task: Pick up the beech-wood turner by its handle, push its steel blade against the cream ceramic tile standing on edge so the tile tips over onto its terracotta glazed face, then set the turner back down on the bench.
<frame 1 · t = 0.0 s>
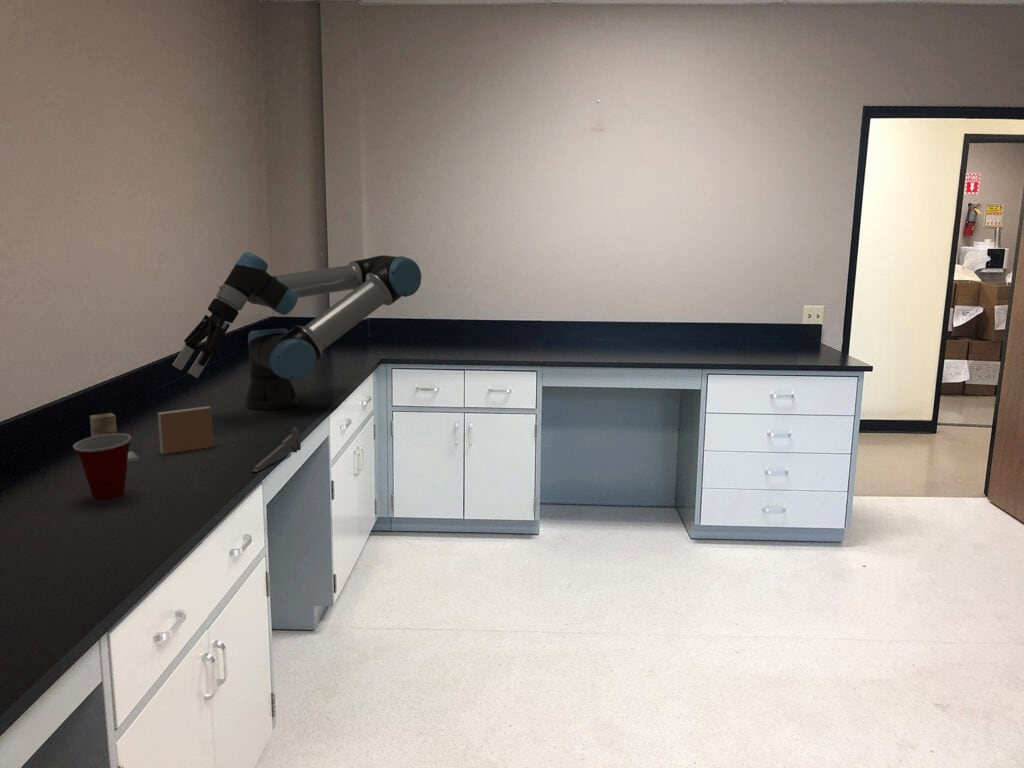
hand: (184, 371, 229), 15 cm above the counter, tool tilted 35°, fingers open, 13 cm apart
tile: (187, 450, 210), on the counter
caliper: (277, 462, 201), on the counter
plastic cup: (107, 497, 176), on the counter
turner: (105, 449, 210), on the counter
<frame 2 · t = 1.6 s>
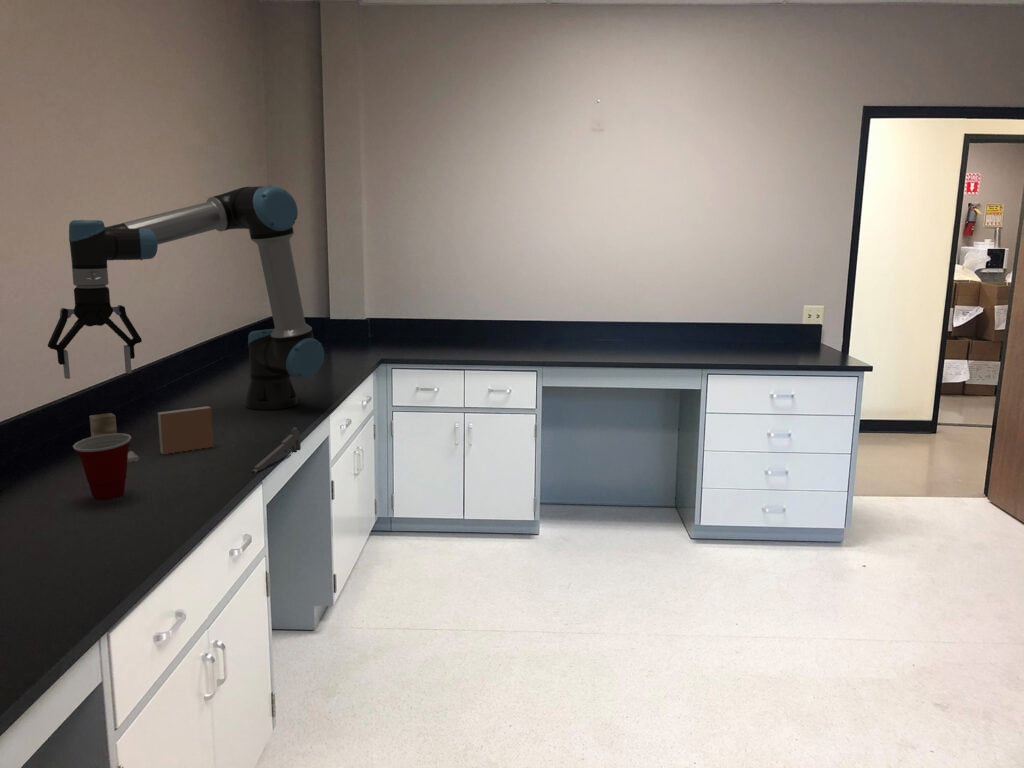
hand: (98, 375, 206), 18 cm above the counter, tool pointing down, fingers open, 13 cm apart
nothing on the counter moved.
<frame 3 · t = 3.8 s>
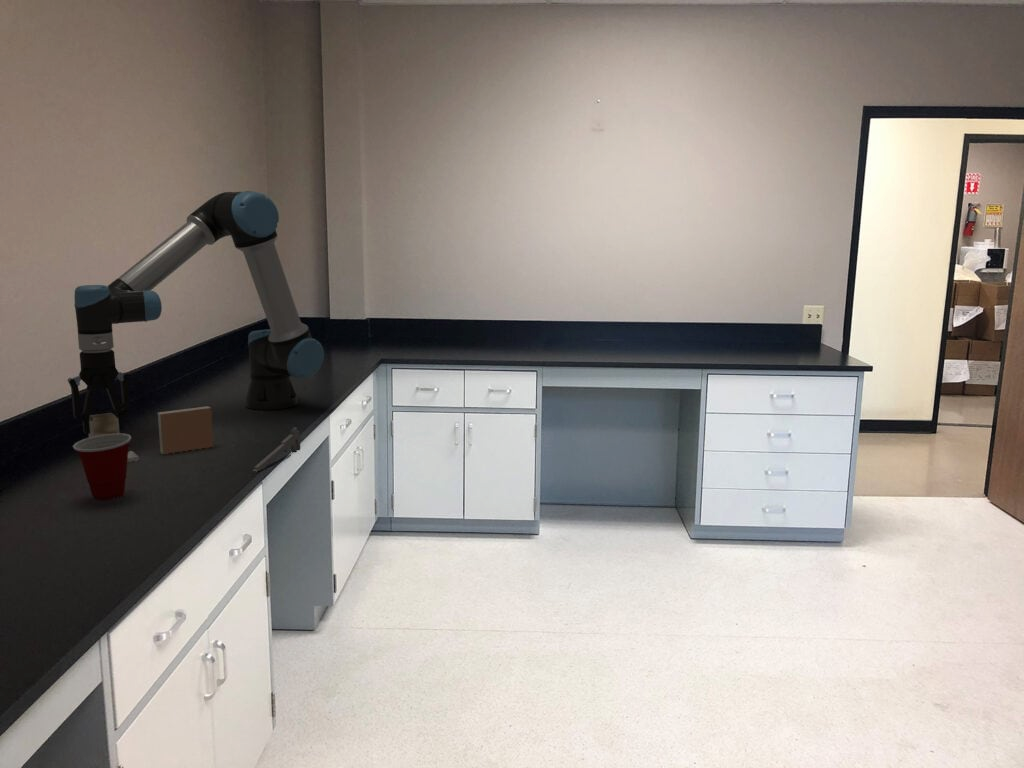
hand: (104, 444, 210), 1 cm above the counter, tool pointing down, fingers closed on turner, 5 cm apart
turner: (105, 449, 210), on the counter, touching gripper
everything else where it was.
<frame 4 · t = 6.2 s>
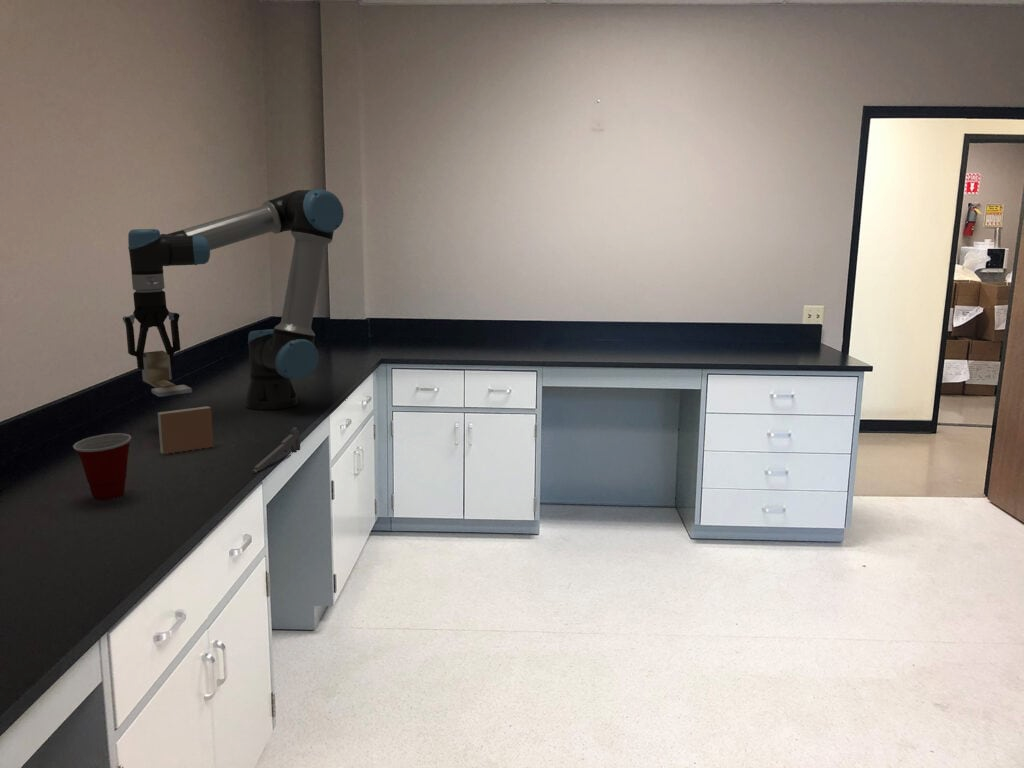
hand: (157, 379, 223), 14 cm above the counter, tool pointing down, fingers closed on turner, 5 cm apart
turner: (157, 384, 223), point 13 cm above the counter, touching gripper
everything else where it was.
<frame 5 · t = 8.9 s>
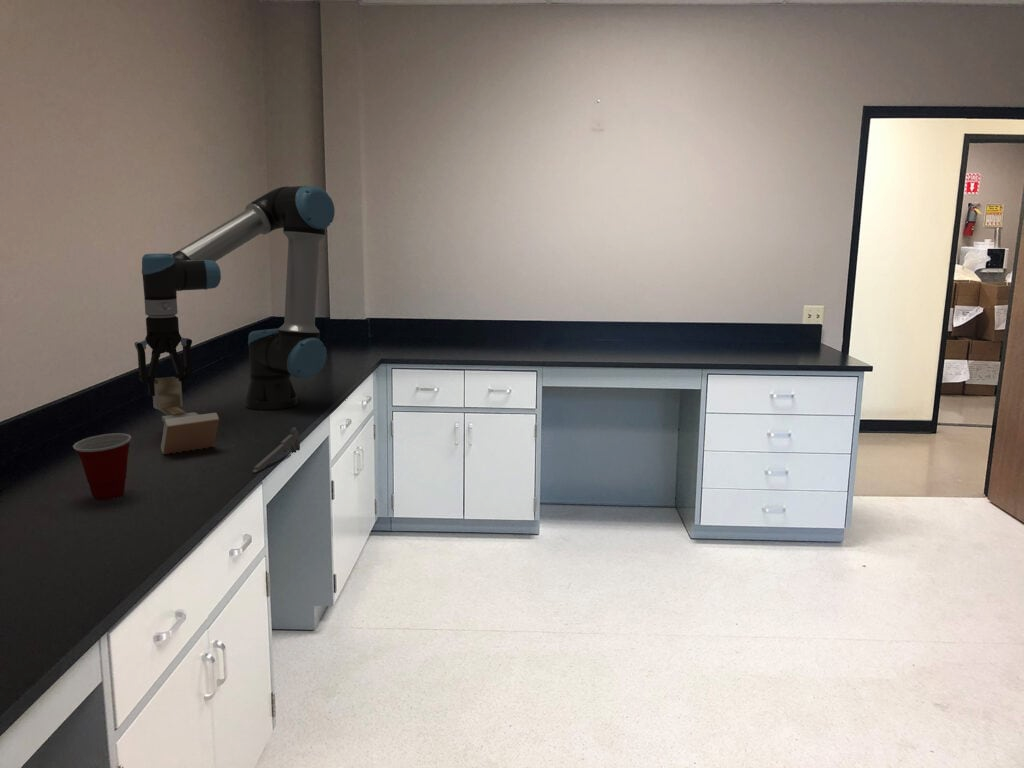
hand: (168, 406, 219), 8 cm above the counter, tool pointing down, fingers closed on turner, 5 cm apart
tile: (187, 447, 210), point 1 cm above the counter, tilted 35°
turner: (168, 411, 219), point 7 cm above the counter, touching gripper
everything else where it was.
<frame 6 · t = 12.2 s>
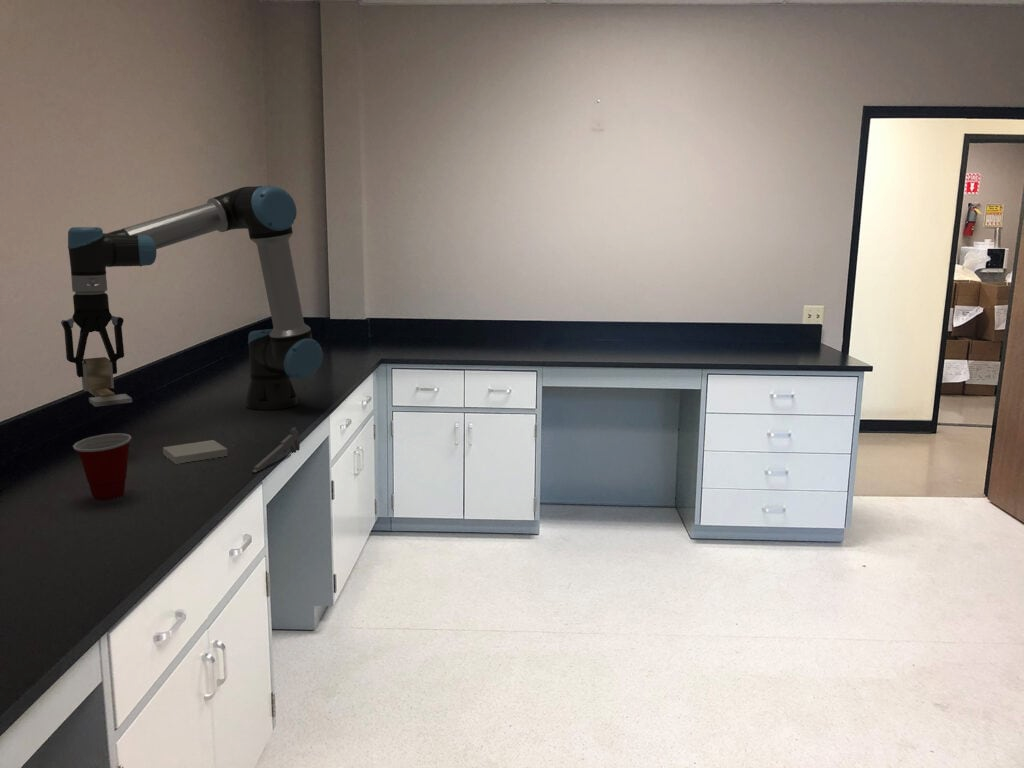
hand: (98, 388, 209), 15 cm above the counter, tool pointing down, fingers closed on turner, 5 cm apart
tile: (188, 448, 209), point 1 cm above the counter, tilted 90°
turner: (98, 393, 209), point 14 cm above the counter, touching gripper
everything else where it was.
when the fingers open (3 cm above the counter, at t = 15.1 s): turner drops 2 cm, on the counter.
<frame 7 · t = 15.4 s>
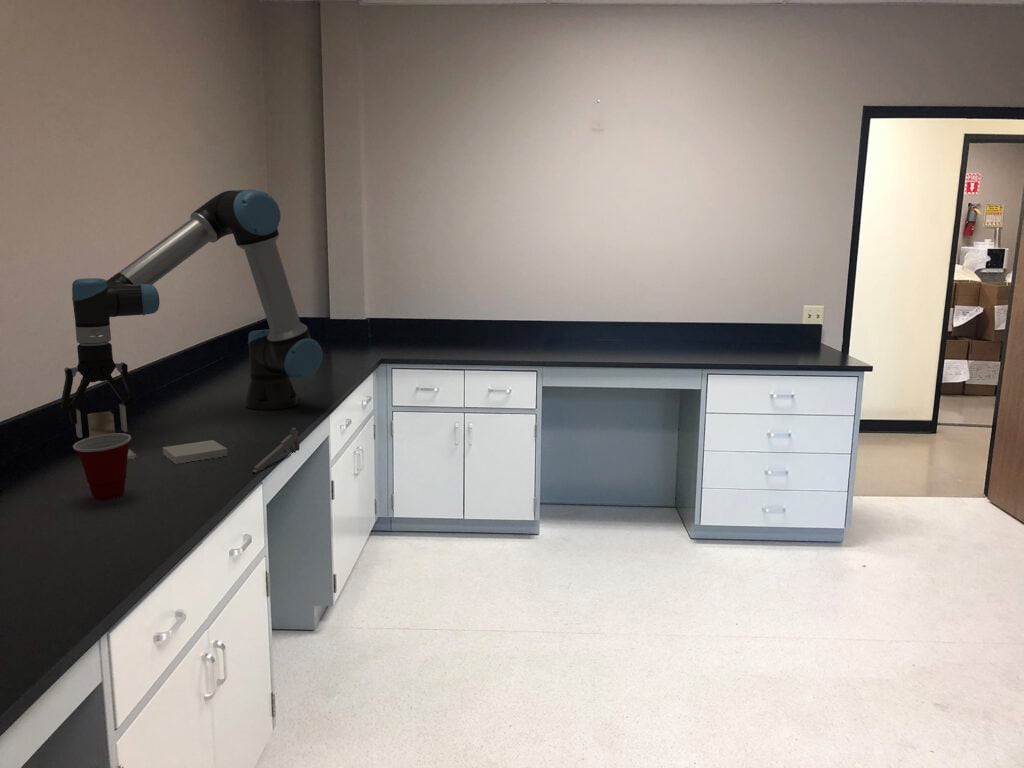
hand: (102, 433, 211), 4 cm above the counter, tool pointing down, fingers open, 9 cm apart
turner: (103, 447, 211), on the counter
everything else where it was.
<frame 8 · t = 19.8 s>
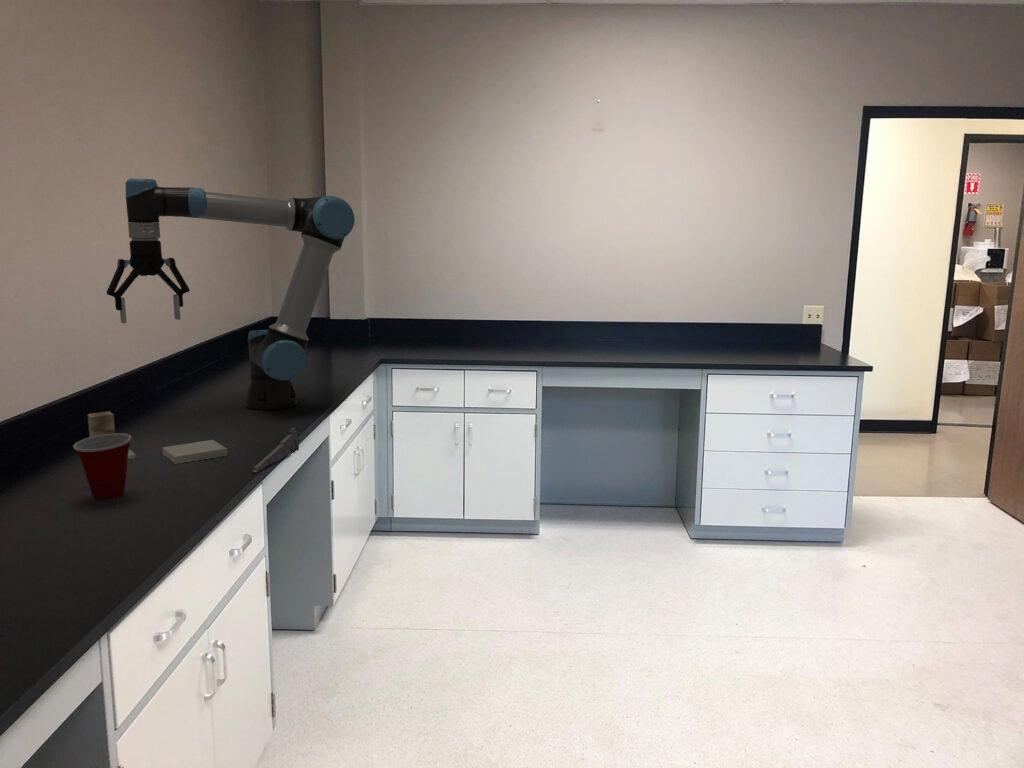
hand: (151, 321, 227), 29 cm above the counter, tool pointing down, fingers open, 13 cm apart
nothing on the counter moved.
at the end: tile tilted 90°; tile inside the target area (4.0 cm from its centre), point 0.6 cm above the counter; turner inside the target area (0.0 cm from its centre), on the counter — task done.
